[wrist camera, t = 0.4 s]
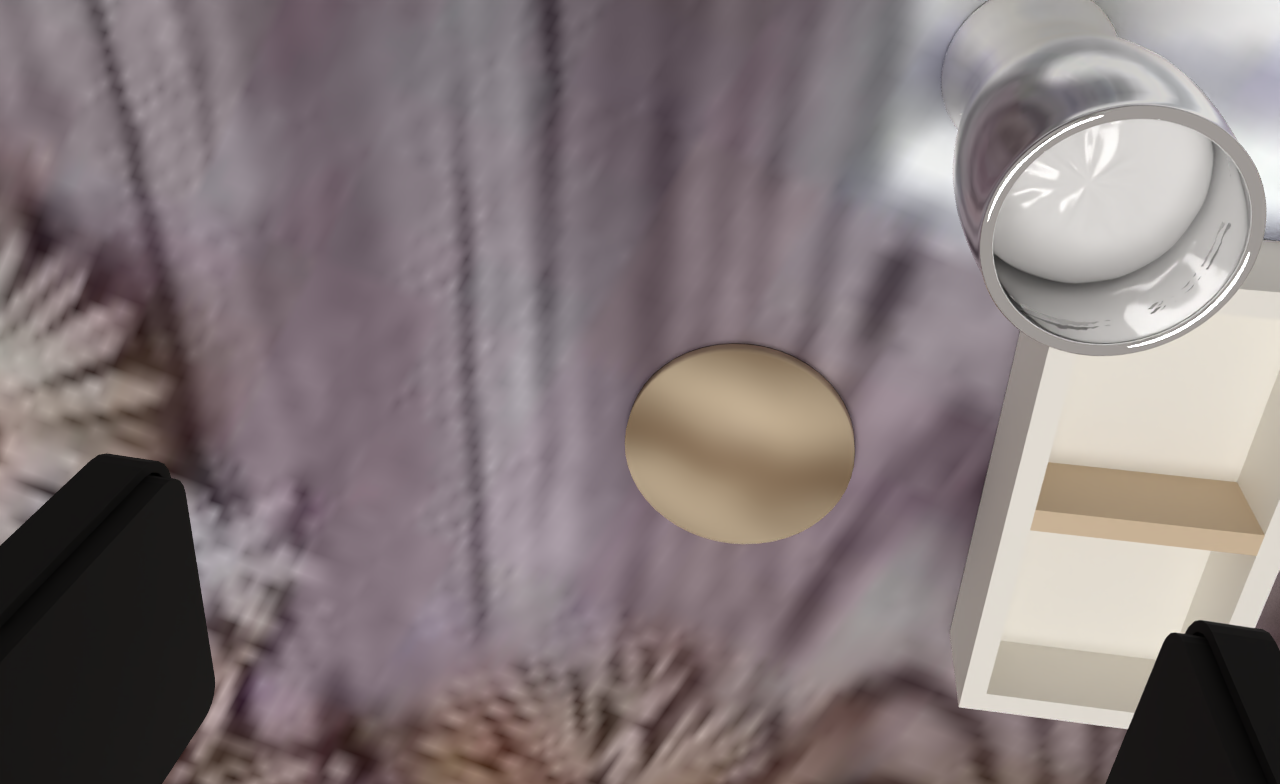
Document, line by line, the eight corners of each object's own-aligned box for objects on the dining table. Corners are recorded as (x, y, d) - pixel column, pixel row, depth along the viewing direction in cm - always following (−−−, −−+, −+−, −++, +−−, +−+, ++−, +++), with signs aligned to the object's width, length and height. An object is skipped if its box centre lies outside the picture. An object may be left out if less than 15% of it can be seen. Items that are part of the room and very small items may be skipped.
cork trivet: (630, 332, 48) (627, 341, 47) (869, 356, 47) (869, 365, 46) (625, 520, 53) (622, 530, 52) (839, 545, 52) (839, 556, 51)
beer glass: (1017, -73, 38) (1111, 36, 25) (1178, 43, 39) (1346, 204, 26) (888, 100, 41) (911, 271, 28) (1038, 201, 42) (1126, 410, 30)
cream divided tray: (1045, 221, 43) (1067, 273, 39) (1338, 246, 41) (1392, 302, 37) (949, 633, 53) (958, 707, 49) (1179, 661, 52) (1207, 739, 48)
